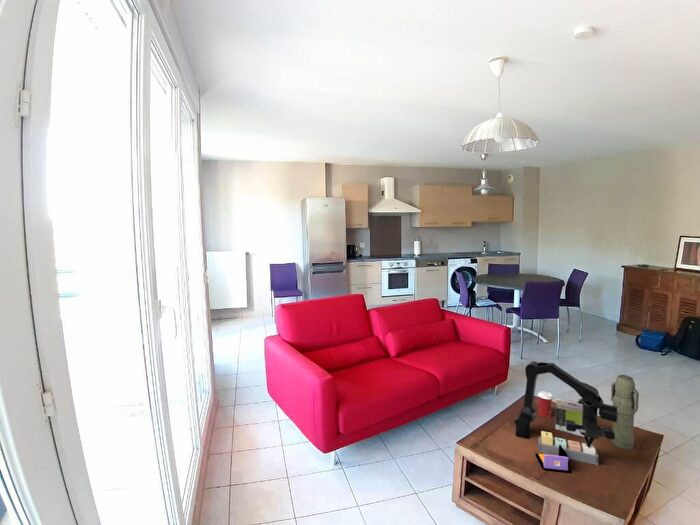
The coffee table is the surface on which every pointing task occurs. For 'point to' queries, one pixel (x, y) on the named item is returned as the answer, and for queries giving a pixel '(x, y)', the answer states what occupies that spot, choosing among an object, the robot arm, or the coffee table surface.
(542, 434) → the key
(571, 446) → the key with dash symbol
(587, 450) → the key
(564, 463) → the business card holder
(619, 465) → the coffee table surface
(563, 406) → the tea box
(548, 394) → the paper cup
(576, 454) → the keypad
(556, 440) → the key with caret symbol
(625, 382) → the green thermos flask
